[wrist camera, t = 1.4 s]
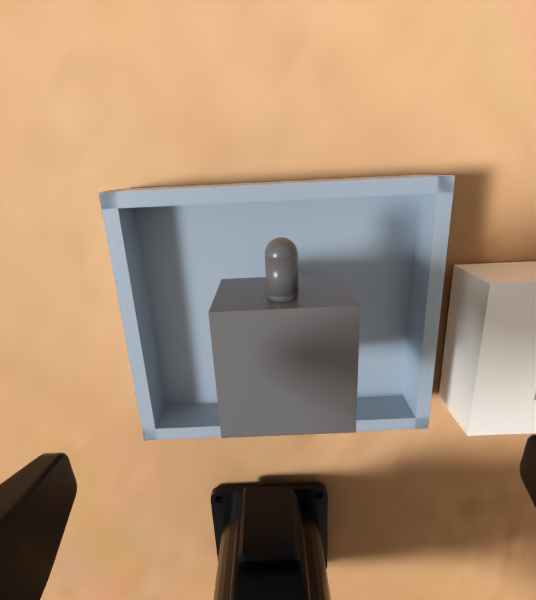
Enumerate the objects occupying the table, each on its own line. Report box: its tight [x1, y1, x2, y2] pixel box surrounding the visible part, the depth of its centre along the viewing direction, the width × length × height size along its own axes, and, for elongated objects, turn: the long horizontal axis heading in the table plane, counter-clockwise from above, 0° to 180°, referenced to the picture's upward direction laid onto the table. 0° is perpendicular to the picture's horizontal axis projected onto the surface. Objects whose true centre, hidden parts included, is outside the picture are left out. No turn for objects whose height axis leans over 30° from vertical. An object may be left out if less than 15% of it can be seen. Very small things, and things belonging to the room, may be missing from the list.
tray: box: [99, 174, 455, 440], centre depth 17 cm, size 11×13×2 cm
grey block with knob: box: [208, 237, 360, 438], centre depth 14 cm, size 6×4×6 cm
